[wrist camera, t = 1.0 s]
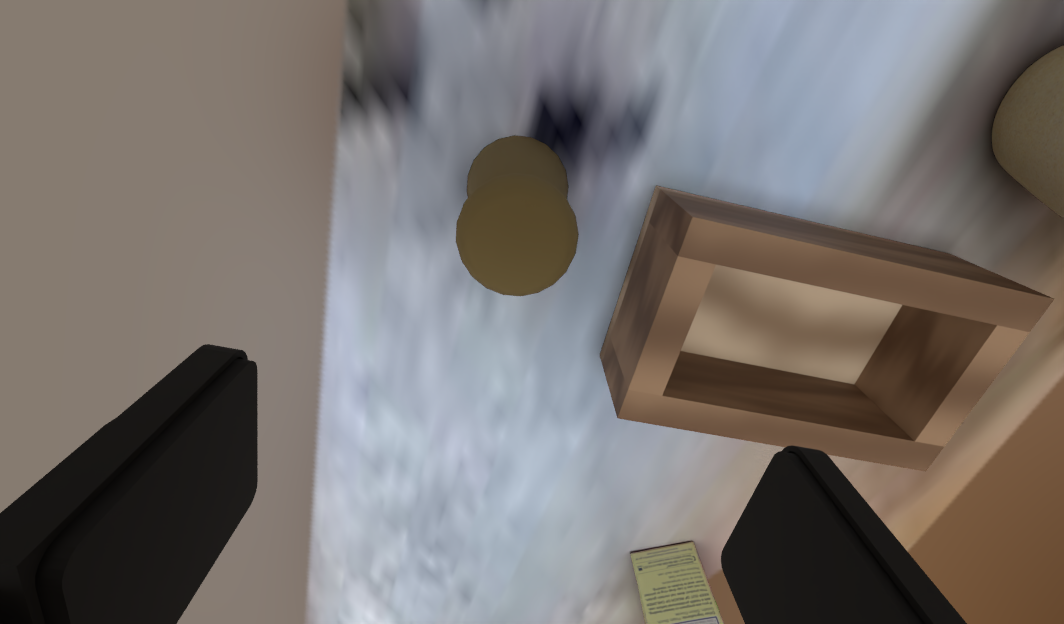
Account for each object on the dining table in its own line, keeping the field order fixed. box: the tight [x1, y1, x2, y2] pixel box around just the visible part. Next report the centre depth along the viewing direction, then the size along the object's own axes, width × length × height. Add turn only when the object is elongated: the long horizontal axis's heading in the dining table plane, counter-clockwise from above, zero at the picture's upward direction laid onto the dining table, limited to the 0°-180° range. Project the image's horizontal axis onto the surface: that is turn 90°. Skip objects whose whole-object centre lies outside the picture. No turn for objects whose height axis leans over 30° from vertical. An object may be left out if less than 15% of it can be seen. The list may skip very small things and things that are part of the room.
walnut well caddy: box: [600, 186, 1054, 471], centre depth 30 cm, size 12×20×7 cm, turn 77°
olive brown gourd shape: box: [456, 136, 579, 296], centre depth 25 cm, size 6×6×11 cm
